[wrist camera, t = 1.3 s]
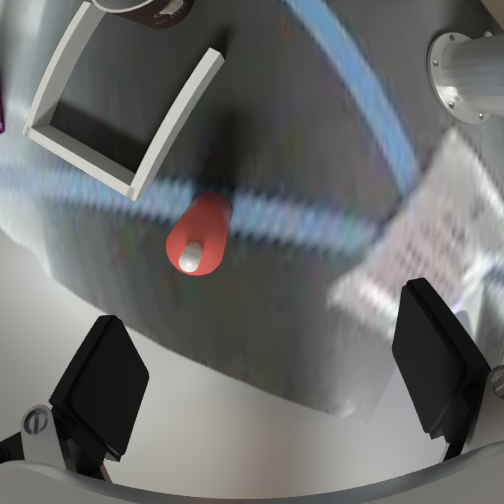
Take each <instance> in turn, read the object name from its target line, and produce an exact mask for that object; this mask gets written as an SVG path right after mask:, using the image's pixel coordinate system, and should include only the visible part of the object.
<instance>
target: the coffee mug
mask: <svg viewBox="0 0 504 504" xmlns="http://www.w3.org/2000/svg"><path fill="white" fill-rule="evenodd" d="M92 2H93V4H94V5H95V6H96V7H97V8H99V9H101V10H103V11H105V12H108V13H112V14H115V15H118V16H121V17H124V18H126V19H129V20H132V21H135V22H137V23H140V24H143V25H145V26H148V27H151V28H155V29H162V28H167V27H171V26H173V25H175V24H177V23H179V22H180V21H181V20H183V19H184V18H185V17H186V16H187V15H188V13H189V11H190V10H191V7H192V3H193V0H92Z"/></svg>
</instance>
